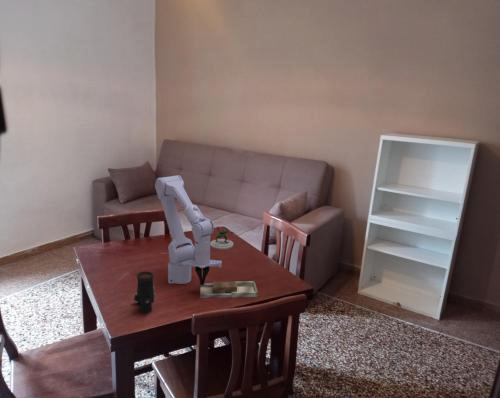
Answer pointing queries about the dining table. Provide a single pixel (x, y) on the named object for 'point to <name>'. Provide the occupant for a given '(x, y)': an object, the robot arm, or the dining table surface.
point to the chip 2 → (230, 287)
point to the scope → (145, 291)
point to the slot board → (242, 291)
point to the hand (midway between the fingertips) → (202, 283)
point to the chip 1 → (218, 287)
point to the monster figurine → (222, 240)
